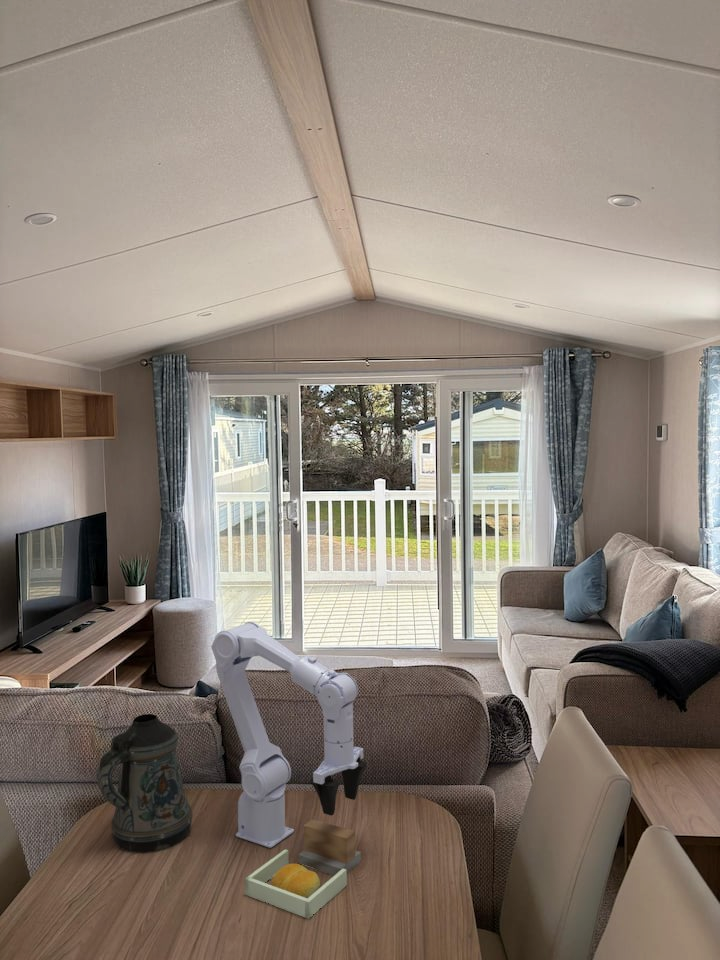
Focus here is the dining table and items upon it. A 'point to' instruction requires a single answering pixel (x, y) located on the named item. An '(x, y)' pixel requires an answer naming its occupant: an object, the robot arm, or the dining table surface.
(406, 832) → the dining table surface
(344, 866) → the scraper
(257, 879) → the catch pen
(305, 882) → the bread roll
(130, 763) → the beer stein
